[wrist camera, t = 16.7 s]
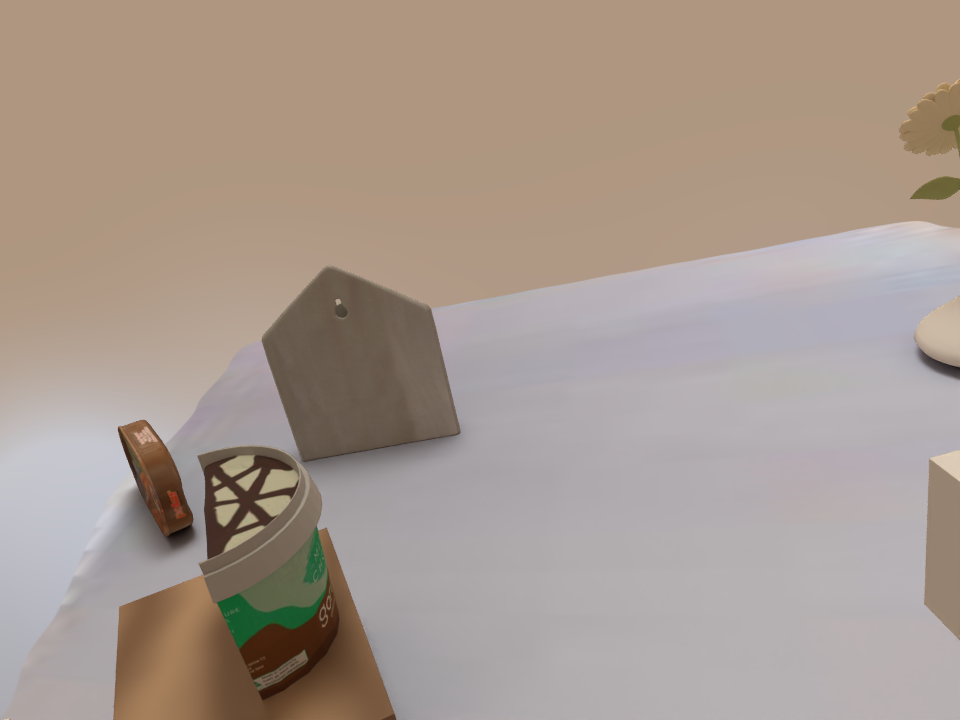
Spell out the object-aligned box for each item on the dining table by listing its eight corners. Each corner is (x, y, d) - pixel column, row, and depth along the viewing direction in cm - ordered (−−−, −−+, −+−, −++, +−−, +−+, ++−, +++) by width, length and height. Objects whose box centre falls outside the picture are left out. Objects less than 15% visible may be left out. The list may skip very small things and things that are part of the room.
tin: (137, 487, 84) (105, 417, 81) (167, 474, 86) (137, 404, 82) (174, 553, 72) (138, 473, 69) (208, 535, 74) (175, 457, 70)
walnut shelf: (356, 615, 60) (326, 527, 57) (429, 817, 44) (394, 713, 41) (163, 694, 57) (119, 606, 53) (168, 944, 41) (106, 842, 38)
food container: (378, 675, 44) (327, 524, 39) (264, 721, 42) (198, 570, 38) (340, 547, 54) (297, 418, 50) (249, 580, 53) (196, 450, 49)
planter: (461, 396, 88) (421, 224, 80) (460, 434, 81) (416, 249, 73) (314, 423, 89) (260, 255, 81) (301, 462, 82) (240, 283, 74)
